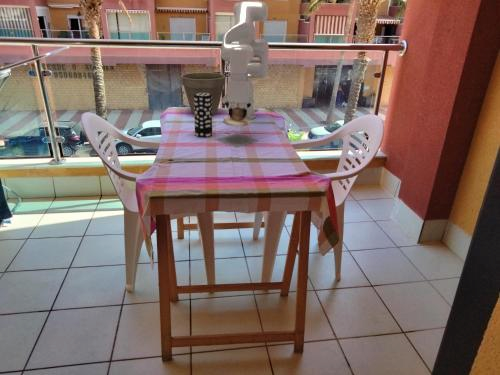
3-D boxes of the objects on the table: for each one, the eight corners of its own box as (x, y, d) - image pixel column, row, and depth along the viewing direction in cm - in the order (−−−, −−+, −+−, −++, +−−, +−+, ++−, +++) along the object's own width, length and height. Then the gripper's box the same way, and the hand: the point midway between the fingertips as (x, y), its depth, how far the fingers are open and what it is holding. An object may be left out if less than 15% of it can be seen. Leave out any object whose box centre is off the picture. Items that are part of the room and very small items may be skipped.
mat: (237, 134, 184) (237, 133, 184) (259, 141, 175) (259, 140, 174) (214, 140, 174) (214, 139, 174) (236, 148, 165) (236, 147, 164)
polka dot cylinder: (213, 134, 183) (213, 93, 174) (210, 139, 176) (210, 96, 167) (197, 132, 184) (196, 92, 175) (193, 138, 176) (191, 95, 168)
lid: (237, 116, 179) (237, 103, 176) (257, 122, 171) (257, 109, 168) (217, 121, 171) (217, 108, 168) (237, 128, 163) (237, 114, 160)
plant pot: (174, 115, 212) (172, 76, 203) (194, 106, 233) (193, 70, 224) (214, 120, 205) (214, 80, 195) (231, 111, 226) (232, 74, 217)
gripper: (257, 75, 165) (256, 115, 174) (219, 74, 165) (219, 114, 173) (258, 79, 159) (256, 120, 167) (218, 77, 158) (218, 118, 166)
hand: (237, 116), depth 170 cm, fingers closed on lid, 5 cm apart
